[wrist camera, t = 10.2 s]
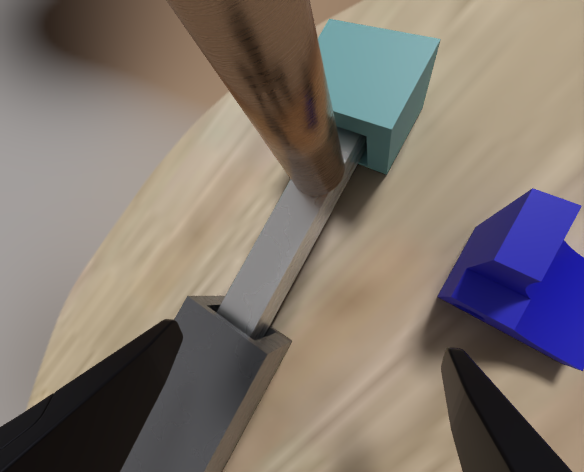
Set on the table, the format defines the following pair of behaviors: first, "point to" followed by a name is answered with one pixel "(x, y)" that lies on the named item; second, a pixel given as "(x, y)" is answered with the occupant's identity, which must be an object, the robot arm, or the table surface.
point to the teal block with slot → (376, 84)
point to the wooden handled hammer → (277, 135)
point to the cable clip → (525, 276)
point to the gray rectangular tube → (206, 392)
